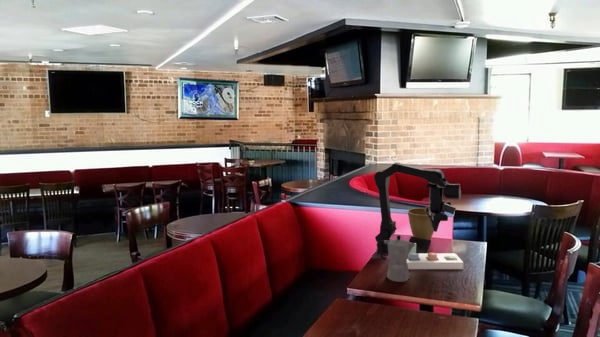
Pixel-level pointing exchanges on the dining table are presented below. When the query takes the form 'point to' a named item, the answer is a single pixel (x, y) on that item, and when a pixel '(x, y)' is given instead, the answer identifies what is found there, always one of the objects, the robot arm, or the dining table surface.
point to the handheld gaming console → (420, 244)
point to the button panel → (434, 261)
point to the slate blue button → (413, 256)
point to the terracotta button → (432, 256)
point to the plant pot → (420, 223)
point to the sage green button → (450, 258)
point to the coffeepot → (397, 258)
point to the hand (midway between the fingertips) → (435, 231)
